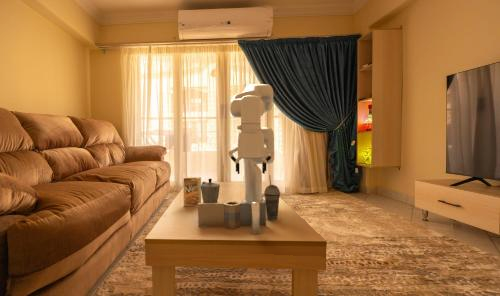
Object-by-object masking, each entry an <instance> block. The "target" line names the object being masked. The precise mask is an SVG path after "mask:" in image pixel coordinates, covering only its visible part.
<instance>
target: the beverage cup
mask: <svg viewBox="0 0 500 296" xmlns="http://www.w3.org/2000/svg"><path fill="white" fill-rule="evenodd" d="M268 176H269V185H267V186H266V188H265V189H264V192H263V194H264V195H265V197H264V198H265V199H264V200H265V203H266V221H267V220H268V221H271V222H273V221H275V222H276V221H277V220H278V217H279V203H280V197H281V191H280V189H279V187H278V186H277V185H274V184H272V180H271V179H272V178H271V174H269V175H268Z"/></svg>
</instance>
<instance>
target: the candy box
mask: <svg viewBox="0 0 500 296" xmlns="http://www.w3.org/2000/svg"><path fill="white" fill-rule="evenodd" d="M201 185H202V177H199V176H196V177H193V176H189V177H187V176H185V177H183V206H184V207H198V203H202V192H201Z"/></svg>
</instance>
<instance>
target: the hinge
mask: <svg viewBox="0 0 500 296" xmlns="http://www.w3.org/2000/svg"><path fill="white" fill-rule="evenodd" d="M197 209H198V210H197V218H198V219H197V220H198V221H197V222H198V223H197V224H198V228H212V227H213V228H214V227H215V228H219V227H221V228H222V227H223V228H225V229H228V230H230V229H232V230H233V229H234V230H236V229H238V228H241V227H252V203H243V202H239V201H237V200H235V201H230V200H229V201H225V202H221V203H220V202H217V203H203V202H201V203H198V206H197ZM259 215H260V227H266V226H267V212H266V202H264V203H259Z"/></svg>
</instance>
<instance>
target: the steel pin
mask: <svg viewBox="0 0 500 296" xmlns="http://www.w3.org/2000/svg"><path fill="white" fill-rule="evenodd" d="M260 227H261V226H260V215H259V202H252V226H251V235H255V236H256V235H260V232H261V231H260Z"/></svg>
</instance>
